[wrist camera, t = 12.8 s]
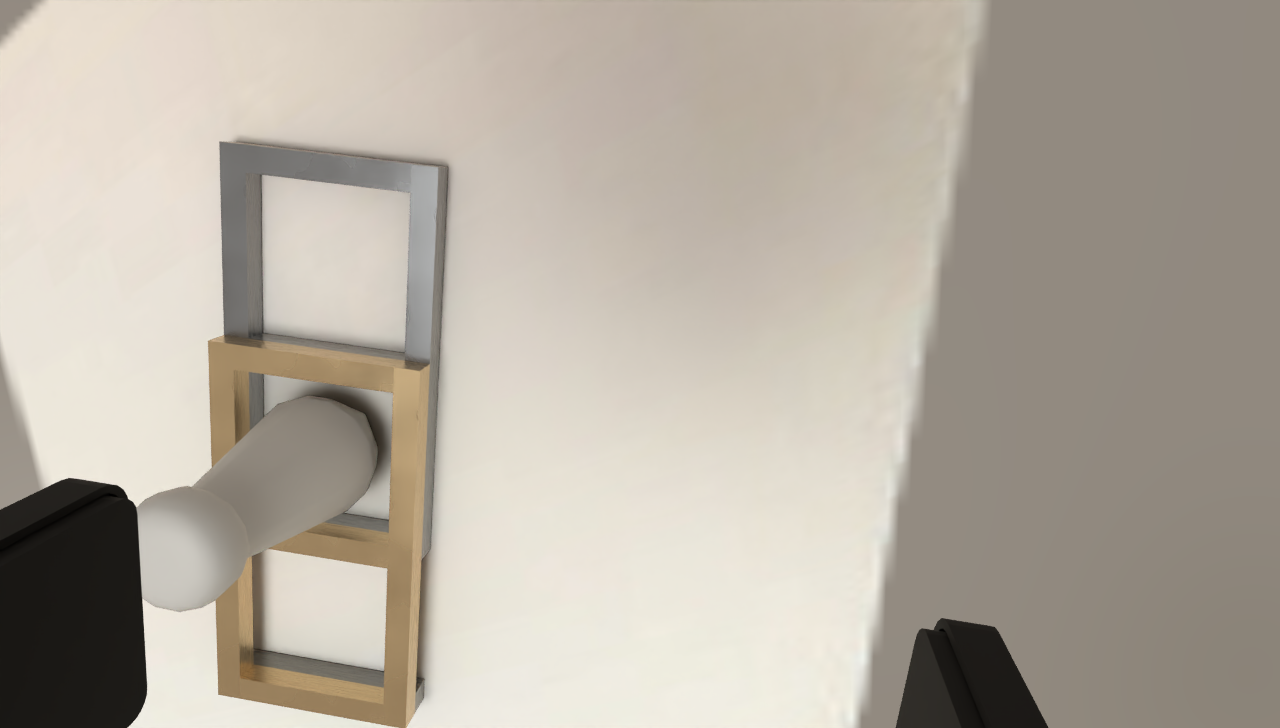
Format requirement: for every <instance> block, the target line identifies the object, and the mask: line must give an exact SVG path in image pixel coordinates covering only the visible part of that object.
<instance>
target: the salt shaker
mask: <svg viewBox="0 0 1280 728" xmlns="http://www.w3.org/2000/svg"><path fill="white" fill-rule="evenodd" d="M377 452H378V447H377V444H376V441H375V439H374V436H373V433H372V431H371V428H370V425H369V423H368V420H367V417H366V415H365V413H362V412H360V411H358V410H356V409H353V408H351V407H349V406H346V405H344V404H342V403H339V402H337V401H335V400H333V399H329V398H322V397H315V396H305V397H301V398H298V399H294V400H290V401H286V402H283V403H280V404H277V405H276V406H275V407H274V408H273V409H272V410H271V411H270V412H269V413H268V414H267V415H266V416H265V417H264V418H263V419H262V420H261V421H260V422H259V423H258V424H256V425H255V426H254V427H253V428H252V429H251V430H250V431H249V432H248V433H247V434H246V435H245V436H244V437H243V438H242V439H241V440H240V441H239V442H238V443H237V444H236V445H235V446H234V447H233V448H232V449H231V450H230V451H229V452H228V453H227V454H225V455H224V456H223V457H222V458H221V459H220V460H219V461H218V462H217V463H216V464H215V465H214V466H213V467H212V468H211V469H210V470H209V471H208V472H207V473H206V474H205V475H204V476H203V477H202V478H201V479H200V480H199V481H198V482H197V483H196V484H194V485H193V486H192V487H189V486H185V487H179V488H175V489H171V490H168V491H164V492H160V493H157V494H155V495H153V496H151V497H149V498H147V499H145V500H144V501H143V502H142V503H141V504H140V505H139V506H138V507H137V508H136V509H137V514H138V532H139V550H140V568H141V586H142V598H143V599H144V600H146V601H147V602H148V603H150V604H152V605H153V606H155V607H159V608H163V609H168V610H173V611H177V612H182V611H187V610H192V609H197V608H202V607H204V606H206V605H208V604H209V603H211V602H213V601H215V600H216V599H217V598H218V597H219V596H220V595H222V594H223V593H224V592H225V591H226V590H227V589H228V588H229V587H230V586H231V585H232V584H233V583H234V582H235V581H236V580H237V579H238V578H239V577H240V576H241V575H242V572H243V570H244V567H245V564H246V561H247V558H249V557H251V556H254V555H256V554H258V553H260V552H262V551H264V550H266V549H268V548H270V547H272V546H274V545H277V544H279V543H281V542H283V541H285V540H287V539H289V538H291V537H293V536H295V535H297V534H300V533H302V532H304V531H306V530H308V529H310V528H312V527H314V526H316V525H318V524H320V523H323V522H325V521H327V520H329V519H331V518H333V517H335V516H337V515H339V514H341V513H344V512H346V511H347V510H348V509H349V508H350V507H351V506H352V505H354V504H355V503H356V502H357V501H358V500H359V499H360V498H361V497H362V496H363V495H364V494H365V493H366V491H367V489H368V487H369V485H370V482H371V479H372V476H373V474H374V471H375V468H376V463H377Z"/></svg>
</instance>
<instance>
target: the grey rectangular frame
mask: <svg viewBox="0 0 1280 728" xmlns="http://www.w3.org/2000/svg"><path fill="white" fill-rule="evenodd" d="M219 143H220V184H221V226H222V268H223V310H224V335H227V336H234V337H241V338H248V339H255V340H262V341H270V342H277V343H284V344H291V345H298V346H305V347H312V348H319V349H326V350H333V351H340V352H347V353H354V354H361V355H369V356H376V357H383V358H390V359H397V360H404V361H411V362H418V363H425V364H430V373H429V396H428V419H427V442H426V465H425V488H424V511H423V534H422V557H421V560H422V559H423V558H424V556H425V555H426V554H427V553H428V551H429V550H430V545H431V524H432V502H433V481H434V459H435V438H436V416H437V395H438V373H439V351H440V330H441V308H442V287H443V265H444V244H445V222H446V201H447V179H448V167H444V166H435V165H427V164H418V163H410V162H401V161H393V160H385V159H376V158H368V157H359V156H351V155H342V154H334V153H325V152H317V151H309V150H300V149H292V148H283V147H275V146H266V145H258V144H250V143H241V142H219ZM261 174H262V175H270V176H278V177H286V178H294V179H303V180H311V181H319V182H327V183H335V184H344V185H352V186H360V187H368V188H376V189H385V190H393V191H401V192H409V193H411V194H410V223H409V251H408V280H407V308H406V336H405V353H401V352H394V351H387V350H380V349H373V348H366V347H359V346H351V345H344V344H337V343H330V342H323V341H316V340H309V339H302V338H295V337H287V336H280V335H273V334H266V333H263V319H262V231H261ZM249 414H250V430H251V429H252V428H253V427H254V426H255V425H256V424H258V423H259V422H260V421H261V420H262V419H263V418H264V407H263V374H260V373H253V372H249ZM325 523H331V524H337V525H343V526H350V527H356V528H362V529H368V530H374V531H381V532H387V533H389V521H388V520H382V519H376V518H369V517H363V516H357V515H351V514H344V513H341V514H339V515H337V516H335V517H333V518H331V519H329V520H327V521H325Z"/></svg>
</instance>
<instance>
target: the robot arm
mask: <svg viewBox="0 0 1280 728" xmlns="http://www.w3.org/2000/svg"><path fill="white" fill-rule="evenodd" d="M146 695H147V677H146V659H145V641H144V623H143V604H142V586H141V568H140V550H139V532H138V514H137V509H136V506H135V505H134V503H133V502H132V501H130V500H129V499H128V497H127V495H126V493H125V492H124V490H123V489H122V488H120V487H119V486H117V485H111V484H105V483H99V482H93V481H87V480H80V479H73V478H68V479H65V480H61V481H59V482H57V483H55V484H53V485H51V486H48V487H46V488H44V489H42V490H40V491H38V492H36V493H34V494H32V495H30V496H28V497H26V498H24V499H22V500H20V501H17V502H15V503H13V504H11V505H9V506H7V507H5V508H3V509H1V510H0V728H127V727H129V726H130V725H131V724H132V723H133V721H134V720H135V719H136V718H137V716H138V715H139V713H140V712H141V710H142V707H143V705H144V703H145V699H146ZM896 728H1048V726H1047V724H1046V723H1045V720H1044V718H1043V717H1042V715H1041V713H1040V711H1039V709H1038V707H1037V705H1036V703H1035V701H1034V699H1033V697H1032V695H1031V693H1030V691H1029V690H1028V688H1027V686H1026V684H1025V682H1024V680H1023V678H1022V676H1021V674H1020V672H1019V670H1018V668H1017V666H1016V665H1015V663H1014V661H1013V659H1012V657H1011V655H1010V653H1009V651H1008V649H1007V647H1006V645H1005V643H1004V641H1003V639H1002V638H1001V636H1000V634H999V632H998V631H997V629H996V628H995V627H992V626H987V625H981V624H974V623H968V622H962V621H956V620H950V619H944V618H941V619H940V620H939V621H938V622H937V624H936V626H935V628H934V630H929V629H920V630H919V632H918V634H917V637H916V640H915V644H914V649H913V653H912V658H911V662H910V666H909V671H908V675H907V680H906V684H905V689H904V693H903V698H902V702H901V707H900V711H899V716H898V720H897V725H896Z"/></svg>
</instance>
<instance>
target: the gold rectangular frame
mask: <svg viewBox="0 0 1280 728" xmlns="http://www.w3.org/2000/svg"><path fill="white" fill-rule="evenodd" d="M208 353H209V387H210V421H211V456H212V467H213V466H214V465H215V464H216V463H217V462H218V461H219V460H220V459H221V458H222V457H223V456H224V455H225V454H227V453H228V452H229V451H230V450H231V449H232V448H233V447H234V446H235V445H236V444H237V443H238V442H239V441H240V440H241V439H242V438H243V437H244V436H245V435H246V434H247V433H248V432H249V431H250V414H249V372H253V373H260V374H267V375H274V376H281V377H287V378H294V379H301V380H308V381H315V382H322V383H329V384H336V385H343V386H349V387H356V388H363V389H370V390H377V391H384V392H391V393H393V414H392V445H391V477H390V508H389V533H387V532H381V531H374V530H368V529H362V528H356V527H350V526H343V525H337V524H331V523H325V522H323V523H320V524H318V525H316V526H314V527H312V528H310V529H308V530H306V531H304V532H302V533H300V534H297V535H295V536H293V537H291V538H289V539H287V540H285V541H283V542H281V543H279V544H277V545H274V546H272V547H270V548H268V549H273V550H279V551H285V552H291V553H297V554H303V555H309V556H316V557H322V558H328V559H334V560H340V561H346V562H352V563H358V564H364V565H370V566H376V567H382V568H388V571H387V603H386V635H385V666H384V672H381V671H376V670H370V669H365V668H359V667H353V666H348V665H342V664H336V663H331V662H325V661H320V660H314V659H308V658H303V657H297V656H291V655H286V654H280V653H274V652H269V651H263V650H258V649H253V601H252V556H251V557H249V558H247V561H246V564H245V567H244V570H243V572H242V575H241V576H240V577H239V578H238V579H237V580H236V581H235V582H234V583H233V584H232V585H231V586H230V587H229V588H228V589H227V590H226V591H225V592H224V593H223V594H222V595H220V596H219V597H218V598H217V599H216V627H217V661H218V695H224V696H229V697H235V698H240V699H246V700H251V701H256V702H262V703H267V704H273V705H278V706H284V707H289V708H295V709H300V710H305V711H311V712H316V713H322V714H327V715H333V716H338V717H344V718H349V719H354V720H360V721H365V722H371V723H376V724H382V725H387V726H392V727H398V728H406V727H407V726H408V724H409V722H410V720H411V719H412V717H413V715H414V714H415V712H416V710H417V709H418V707H419V705H420V703H421V702H422V700H423V696H424V679H421V678H416V672H417V649H418V626H419V603H420V580H421V557H422V534H423V511H424V488H425V465H426V442H427V419H428V396H429V373H430V364H425V363H418V362H411V361H404V360H397V359H390V358H383V357H376V356H369V355H361V354H354V353H347V352H340V351H333V350H326V349H319V348H312V347H305V346H298V345H291V344H284V343H277V342H270V341H262V340H255V339H248V338H241V337H234V336H227V335H223V336H220V337H217V338H215V339H212V340H209V341H208Z"/></svg>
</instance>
